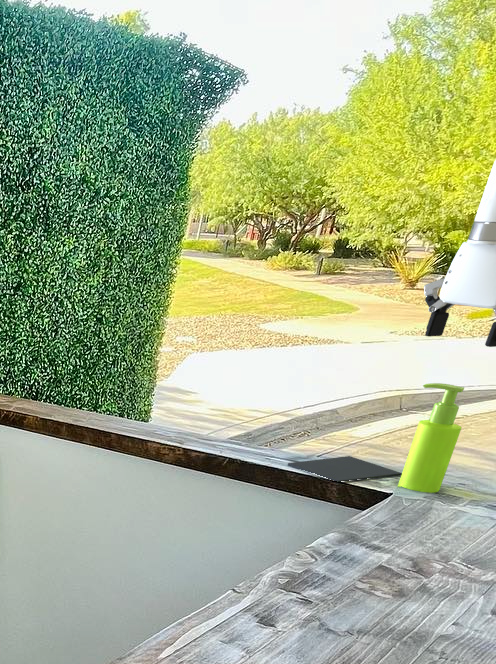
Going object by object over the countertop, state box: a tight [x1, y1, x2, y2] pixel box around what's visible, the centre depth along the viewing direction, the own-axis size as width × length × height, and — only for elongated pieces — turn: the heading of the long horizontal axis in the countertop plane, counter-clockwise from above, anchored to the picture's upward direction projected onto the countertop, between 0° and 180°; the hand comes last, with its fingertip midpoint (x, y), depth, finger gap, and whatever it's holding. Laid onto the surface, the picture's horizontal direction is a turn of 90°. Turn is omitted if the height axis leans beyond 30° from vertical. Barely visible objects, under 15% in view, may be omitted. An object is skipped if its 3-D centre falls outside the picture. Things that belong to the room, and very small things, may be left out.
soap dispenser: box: [397, 382, 465, 493], centre depth 137 cm, size 6×7×20 cm
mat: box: [287, 455, 402, 482], centre depth 152 cm, size 16×11×1 cm
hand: (462, 340), depth 130 cm, fingers open, 9 cm apart
